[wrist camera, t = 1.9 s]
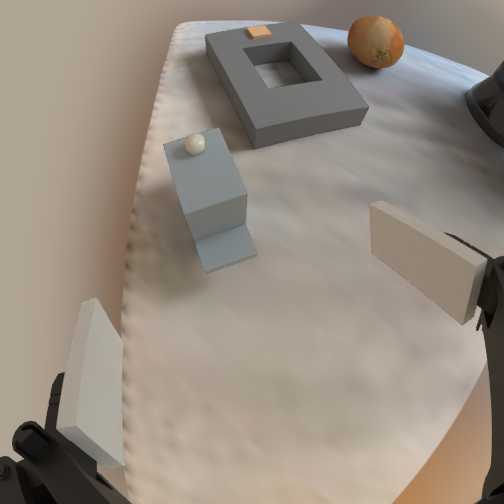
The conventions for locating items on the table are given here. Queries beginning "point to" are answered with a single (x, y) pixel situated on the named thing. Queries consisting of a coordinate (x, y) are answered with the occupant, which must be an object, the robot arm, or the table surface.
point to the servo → (211, 198)
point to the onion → (375, 41)
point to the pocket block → (287, 97)
